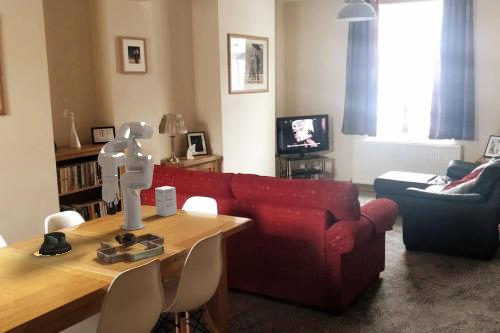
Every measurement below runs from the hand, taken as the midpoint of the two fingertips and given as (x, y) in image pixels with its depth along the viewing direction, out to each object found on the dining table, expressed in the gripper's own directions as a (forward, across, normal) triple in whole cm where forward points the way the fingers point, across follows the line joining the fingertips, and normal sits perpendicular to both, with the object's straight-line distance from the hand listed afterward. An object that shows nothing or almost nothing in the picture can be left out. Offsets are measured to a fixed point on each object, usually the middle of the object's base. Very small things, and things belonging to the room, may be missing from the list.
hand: (112, 214), depth 262 cm
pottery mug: (+16, +9, +2) cm, 18 cm away
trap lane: (+15, +16, +1) cm, 23 cm away
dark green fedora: (+16, -11, -26) cm, 32 cm away
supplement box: (+14, -31, +53) cm, 63 cm away
